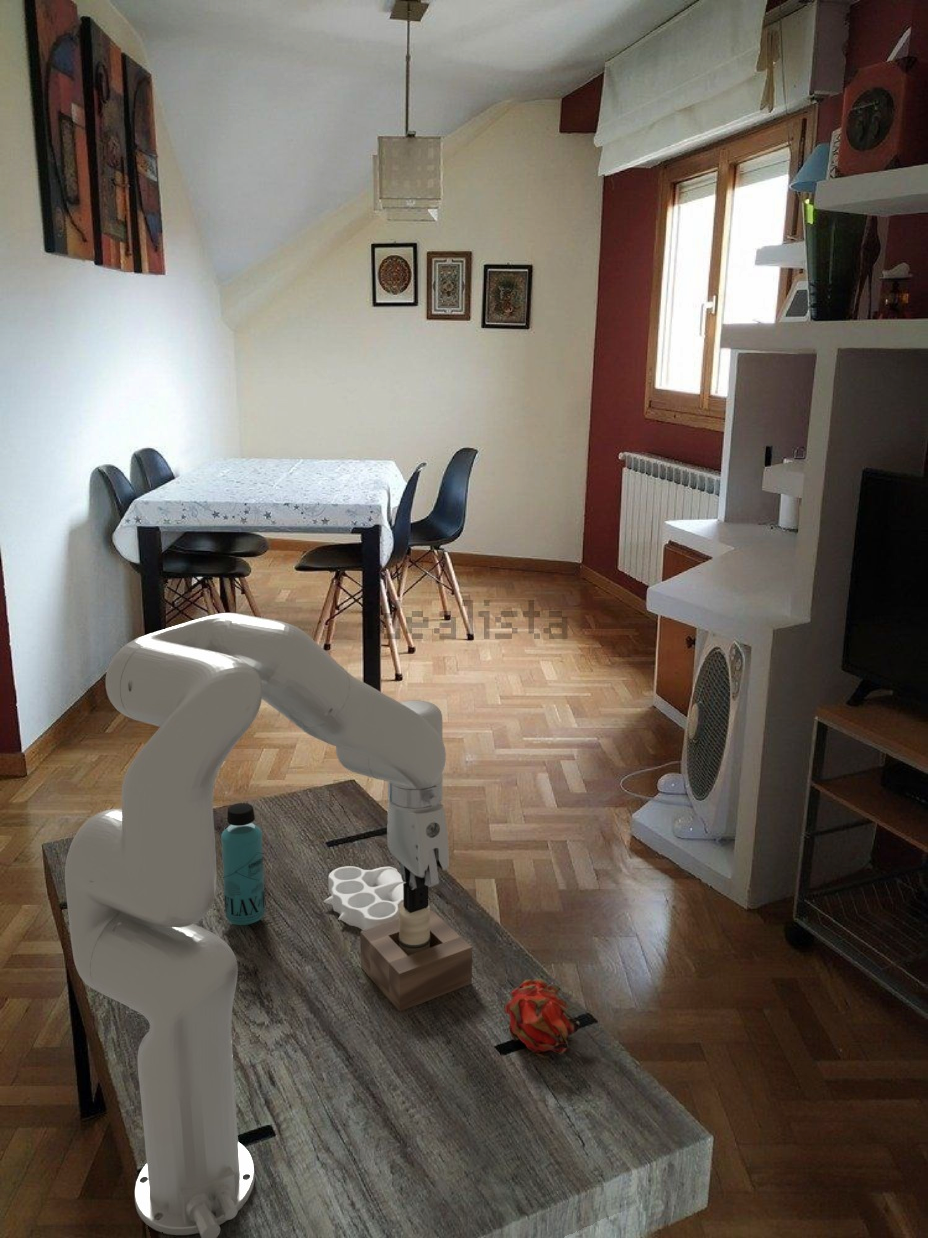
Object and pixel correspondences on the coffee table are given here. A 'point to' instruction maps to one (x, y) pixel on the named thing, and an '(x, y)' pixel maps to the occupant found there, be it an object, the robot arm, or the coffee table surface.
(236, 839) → the beverage bottle
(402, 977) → the socket block
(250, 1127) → the coffee table surface
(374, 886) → the knuckle duster
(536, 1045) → the dragon fruit
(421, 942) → the peg
